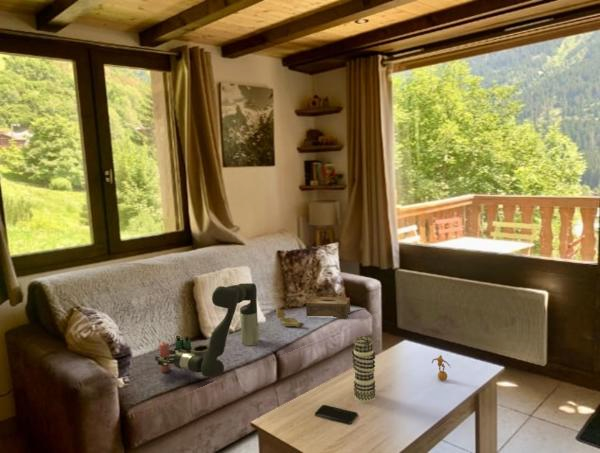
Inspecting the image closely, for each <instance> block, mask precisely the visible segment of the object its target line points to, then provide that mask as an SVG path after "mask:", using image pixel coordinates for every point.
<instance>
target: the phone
mask: <svg viewBox="0 0 600 453" xmlns="http://www.w3.org/2000/svg"><path fill="white" fill-rule="evenodd" d="M314 415H315V417H318V418H320V419H325V420H329V421H332V422H336V423H342V424H345V425H349V426H350V425H352V424H353V423H354V421H355V420H356V419H357V418H358V416H359V414H358V412H356V411H352V410H348V409H343V408H341V407H340V408H339V407H335V406H331V405H327V404H322V405H321V406H320V407H319V408H318V409H317V410H316V411H315V413H314Z"/></svg>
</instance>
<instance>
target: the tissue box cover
mask: <svg viewBox="0 0 600 453" xmlns="http://www.w3.org/2000/svg"><path fill="white" fill-rule="evenodd" d="M305 311H306V312H305V313H306V317H307V316H333V317H337V318H339V319H338V320H347V319H348V318H349V316H350V314H349V312H350V313H351V298H350V297H334V296H331V297H330V296H310V298H309V299H308V300H307V301H306V302H305ZM348 315H349V316H348Z"/></svg>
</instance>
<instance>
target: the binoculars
mask: <svg viewBox="0 0 600 453" xmlns="http://www.w3.org/2000/svg"><path fill="white" fill-rule="evenodd" d="M175 339H176V340H175V341H174V342H175V344H174V346H175V347H174V348H173V350H178V351H179V349H182V350H186V351H188V353H191V352H190V350H191V349H192V347H193V346H192V344H191V340H190V339H189V335H186V336H184V339H182V338H181V336H180V335H177V336H175Z"/></svg>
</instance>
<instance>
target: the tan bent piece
mask: <svg viewBox="0 0 600 453" xmlns="http://www.w3.org/2000/svg"><path fill="white" fill-rule="evenodd" d="M275 312H276V317H277V318H278V319H279V322H281V324H282V325H283V326H284V327H286V326H296V328H303V326H304V325H305V324H304V322H300V321H298V319H297V318H295V317H286V315H287V314H286V313H285V312H284V310H282V309H280V308H279V307H277V306H276V308H275Z"/></svg>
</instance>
